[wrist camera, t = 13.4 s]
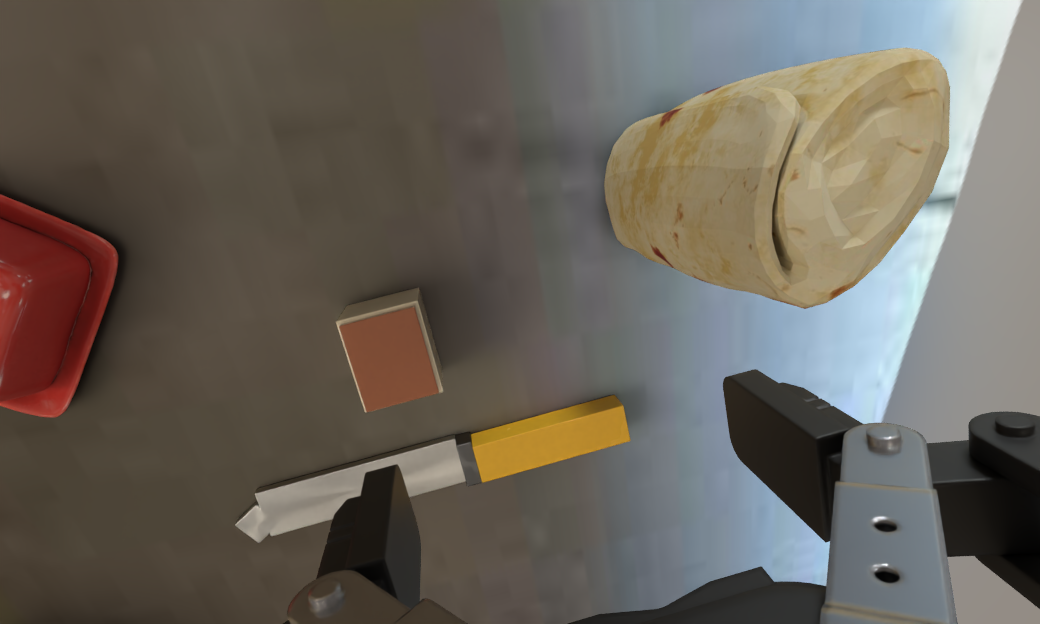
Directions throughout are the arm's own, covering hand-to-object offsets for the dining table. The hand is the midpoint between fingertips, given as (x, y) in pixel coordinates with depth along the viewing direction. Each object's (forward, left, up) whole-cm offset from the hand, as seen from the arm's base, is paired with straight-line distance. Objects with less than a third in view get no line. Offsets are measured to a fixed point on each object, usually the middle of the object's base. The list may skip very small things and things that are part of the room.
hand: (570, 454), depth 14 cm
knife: (+8, -10, -24) cm, 27 cm away
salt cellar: (0, -7, -24) cm, 25 cm away
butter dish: (-15, -23, -24) cm, 37 cm away
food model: (0, +12, -24) cm, 27 cm away
